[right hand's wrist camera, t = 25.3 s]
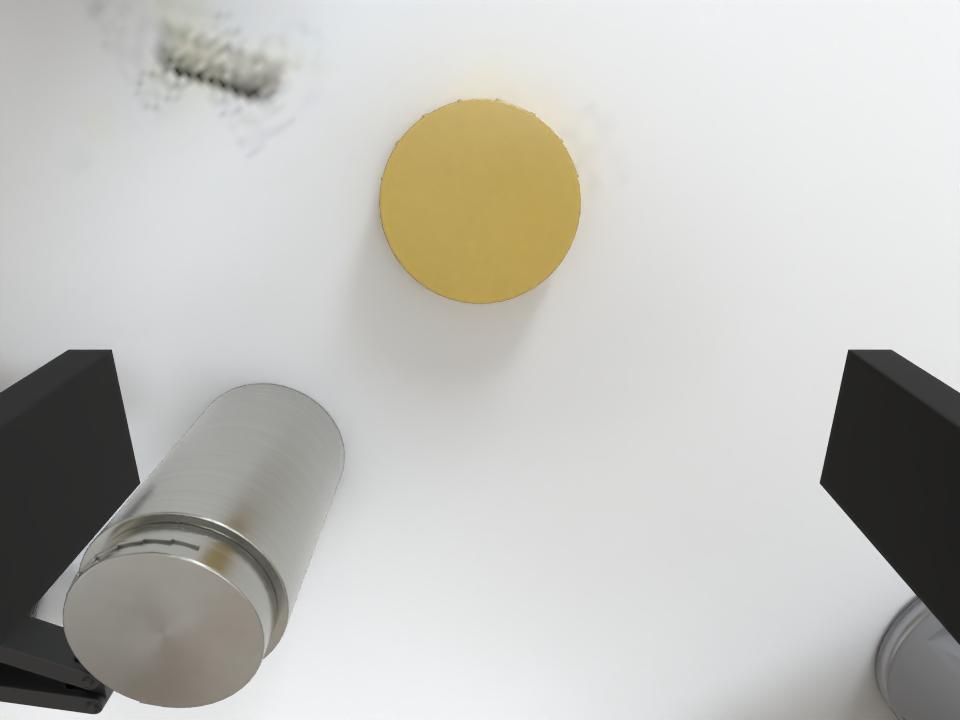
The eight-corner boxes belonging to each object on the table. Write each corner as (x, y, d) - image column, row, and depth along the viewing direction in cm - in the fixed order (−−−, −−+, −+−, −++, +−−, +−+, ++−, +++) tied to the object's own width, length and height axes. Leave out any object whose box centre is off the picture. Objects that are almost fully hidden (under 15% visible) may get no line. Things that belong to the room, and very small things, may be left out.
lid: (441, 323, 39) (439, 336, 37) (347, 157, 36) (339, 162, 34) (605, 242, 37) (613, 251, 35) (523, 59, 34) (526, 57, 32)
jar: (207, 365, 40) (57, 517, 26) (359, 406, 41) (295, 574, 27) (186, 493, 43) (43, 690, 29) (327, 527, 44) (255, 735, 30)
